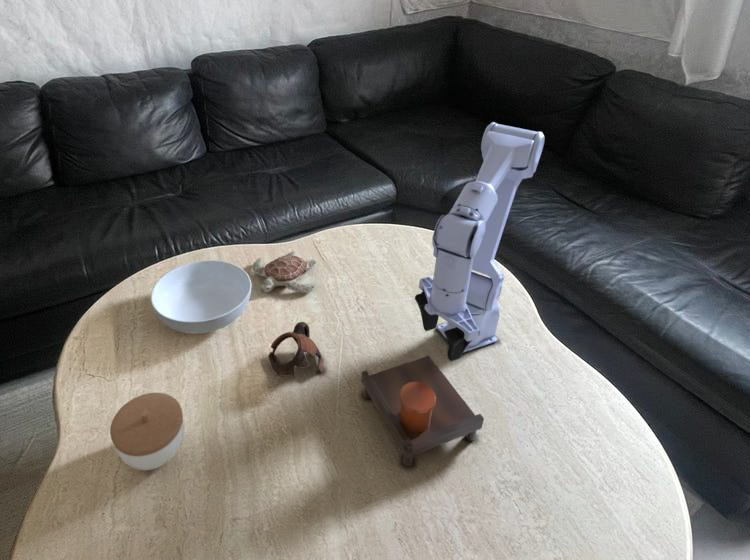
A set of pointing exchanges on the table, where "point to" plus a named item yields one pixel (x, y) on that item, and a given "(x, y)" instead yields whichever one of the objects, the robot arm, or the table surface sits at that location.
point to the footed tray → (447, 413)
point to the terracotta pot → (416, 406)
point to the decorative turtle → (285, 273)
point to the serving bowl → (201, 296)
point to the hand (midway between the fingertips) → (441, 343)
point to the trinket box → (148, 430)
